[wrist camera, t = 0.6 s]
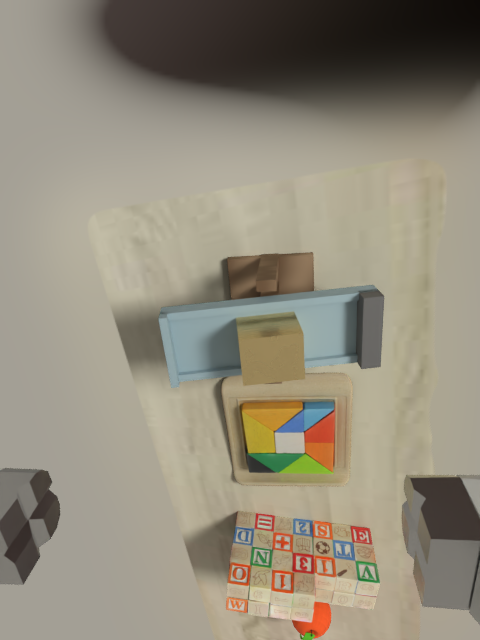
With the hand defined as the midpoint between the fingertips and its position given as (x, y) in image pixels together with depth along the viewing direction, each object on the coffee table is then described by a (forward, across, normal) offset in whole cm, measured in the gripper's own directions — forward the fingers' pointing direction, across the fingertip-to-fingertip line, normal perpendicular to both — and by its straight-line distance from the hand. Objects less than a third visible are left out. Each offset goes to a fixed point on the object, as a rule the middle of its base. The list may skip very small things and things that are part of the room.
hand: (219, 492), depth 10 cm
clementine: (+44, -2, +69) cm, 82 cm away
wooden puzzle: (+44, 0, +32) cm, 54 cm away
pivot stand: (+42, +1, +12) cm, 44 cm away
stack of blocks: (+44, -1, +53) cm, 69 cm away
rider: (+33, +2, +12) cm, 35 cm away
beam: (+34, +1, +12) cm, 37 cm away
